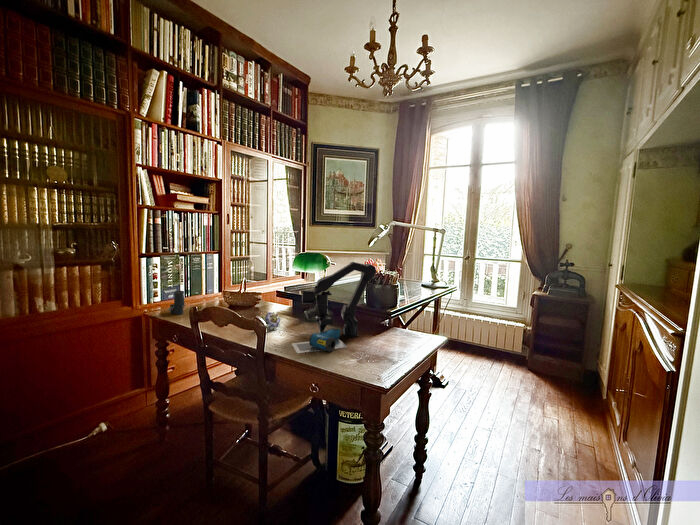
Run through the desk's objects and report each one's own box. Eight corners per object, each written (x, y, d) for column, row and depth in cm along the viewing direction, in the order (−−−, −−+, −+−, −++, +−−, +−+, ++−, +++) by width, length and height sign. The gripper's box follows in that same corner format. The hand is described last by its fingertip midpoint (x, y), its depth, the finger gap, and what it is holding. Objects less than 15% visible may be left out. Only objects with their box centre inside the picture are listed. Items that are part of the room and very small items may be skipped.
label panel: (338, 338, 161) (338, 338, 161) (347, 347, 150) (347, 346, 150) (291, 343, 151) (291, 343, 151) (297, 353, 140) (297, 353, 140)
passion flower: (274, 340, 170) (269, 326, 162) (258, 332, 174) (252, 319, 166) (286, 324, 177) (282, 310, 169) (271, 317, 181) (266, 304, 173)
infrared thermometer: (351, 342, 157) (327, 353, 140) (329, 337, 164) (304, 346, 147) (352, 330, 157) (328, 339, 140) (330, 325, 164) (305, 333, 147)
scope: (179, 289, 197) (189, 291, 192) (180, 310, 198) (190, 313, 194) (166, 291, 190) (176, 293, 185) (167, 313, 191) (177, 316, 187)
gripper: (302, 300, 167) (301, 328, 169) (311, 309, 150) (310, 341, 152) (322, 299, 171) (321, 326, 173) (333, 307, 154) (332, 338, 156)
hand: (321, 333), depth 163 cm, fingers closed
